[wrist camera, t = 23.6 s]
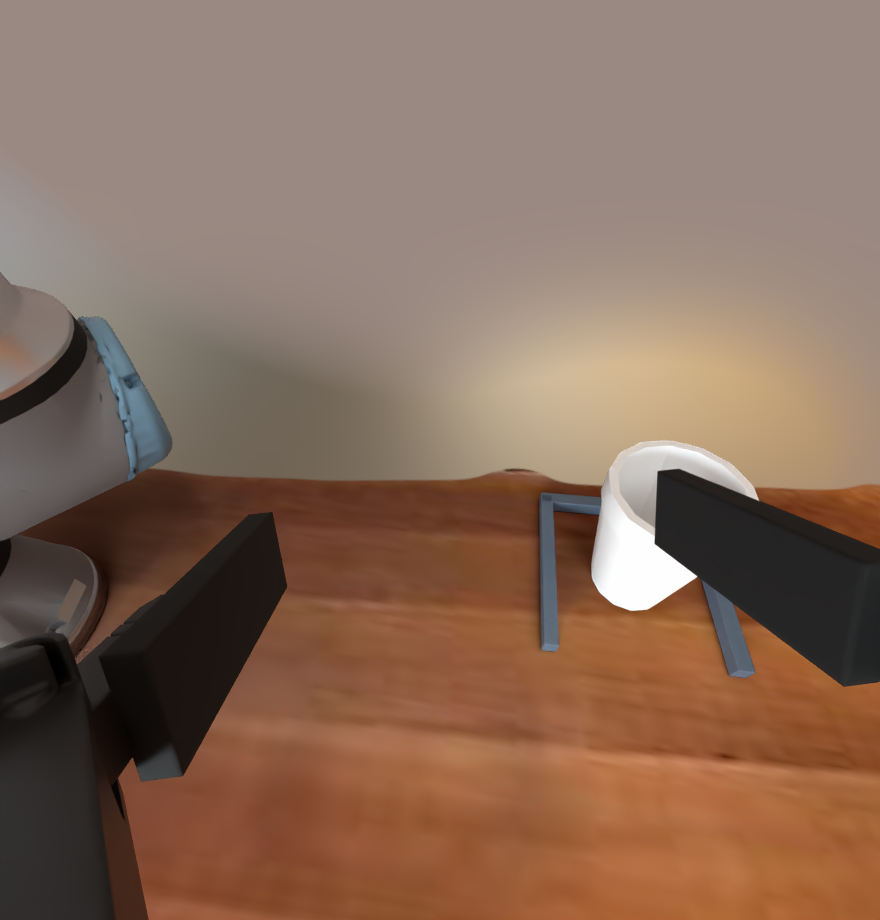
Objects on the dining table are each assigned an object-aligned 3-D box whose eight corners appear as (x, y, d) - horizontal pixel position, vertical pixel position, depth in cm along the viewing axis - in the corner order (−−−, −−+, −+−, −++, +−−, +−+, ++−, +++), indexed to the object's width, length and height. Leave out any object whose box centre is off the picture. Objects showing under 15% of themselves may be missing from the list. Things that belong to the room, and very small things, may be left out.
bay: (746, 678, 31) (756, 672, 30) (541, 650, 33) (543, 644, 32) (694, 514, 41) (700, 505, 40) (539, 500, 43) (540, 491, 42)
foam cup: (588, 630, 34) (634, 554, 24) (562, 535, 40) (592, 444, 31) (702, 625, 34) (795, 546, 24) (659, 530, 40) (719, 437, 30)
